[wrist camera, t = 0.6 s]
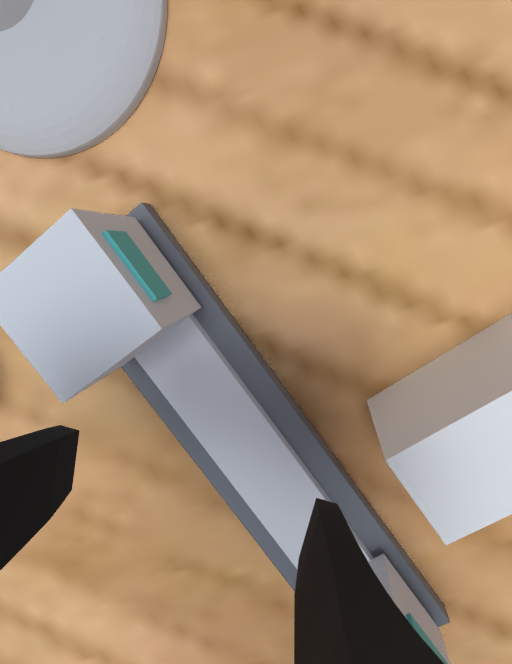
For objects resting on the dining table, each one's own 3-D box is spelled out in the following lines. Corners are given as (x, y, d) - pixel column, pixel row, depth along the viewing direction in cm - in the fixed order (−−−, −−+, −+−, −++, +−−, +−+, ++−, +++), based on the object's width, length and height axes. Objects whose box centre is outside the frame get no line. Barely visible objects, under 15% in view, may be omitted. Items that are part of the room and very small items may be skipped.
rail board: (444, 605, 22) (495, 751, 16) (349, 647, 24) (361, 795, 17) (150, 204, 20) (72, 186, 14) (65, 277, 21) (-42, 291, 15)
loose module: (565, 381, 19) (673, 441, 13) (412, 464, 21) (448, 548, 15) (517, 308, 19) (607, 337, 13) (366, 399, 21) (385, 460, 15)
